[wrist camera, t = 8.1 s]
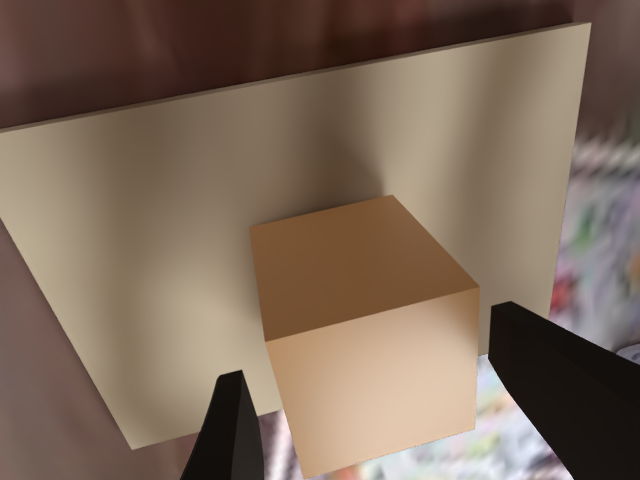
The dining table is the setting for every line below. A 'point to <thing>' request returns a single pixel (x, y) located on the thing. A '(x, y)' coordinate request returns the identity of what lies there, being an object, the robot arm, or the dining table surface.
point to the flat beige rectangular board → (284, 203)
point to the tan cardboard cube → (366, 332)
